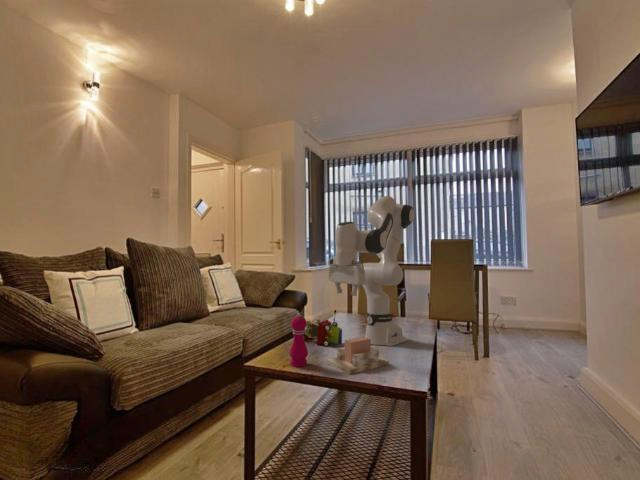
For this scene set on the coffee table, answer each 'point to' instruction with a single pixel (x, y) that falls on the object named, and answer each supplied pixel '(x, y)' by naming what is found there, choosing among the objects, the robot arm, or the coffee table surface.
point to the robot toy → (324, 332)
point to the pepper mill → (298, 342)
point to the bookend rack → (357, 361)
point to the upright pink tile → (356, 347)
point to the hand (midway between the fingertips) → (346, 294)
